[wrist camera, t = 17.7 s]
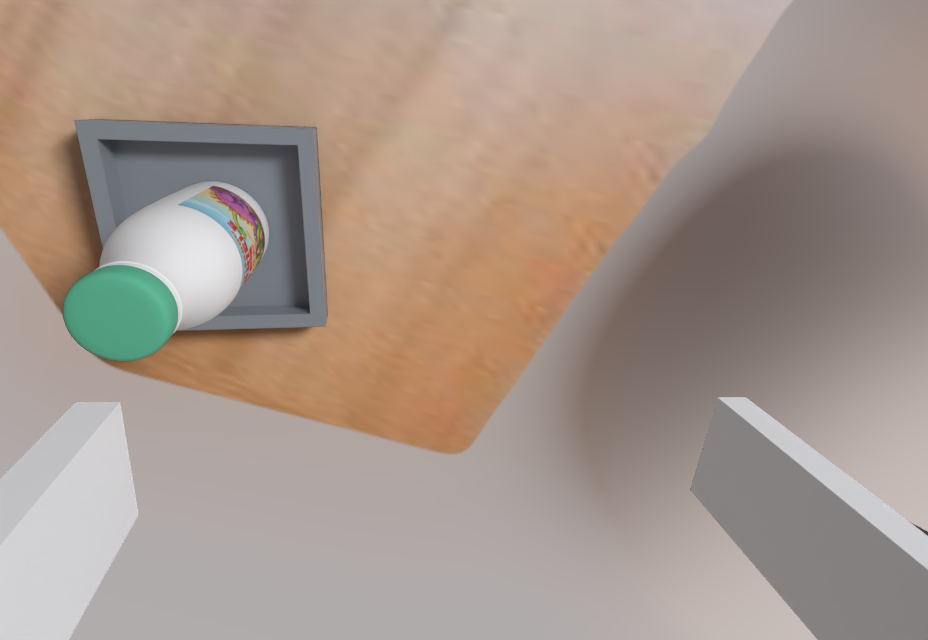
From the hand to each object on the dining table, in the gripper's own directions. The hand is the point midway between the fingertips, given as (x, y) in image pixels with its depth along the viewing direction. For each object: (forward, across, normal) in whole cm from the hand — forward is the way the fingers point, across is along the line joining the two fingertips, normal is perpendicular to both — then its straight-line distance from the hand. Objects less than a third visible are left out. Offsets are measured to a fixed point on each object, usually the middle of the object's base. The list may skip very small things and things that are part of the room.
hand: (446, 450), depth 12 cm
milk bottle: (+36, -13, -3) cm, 38 cm away
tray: (+36, -13, -3) cm, 39 cm away
